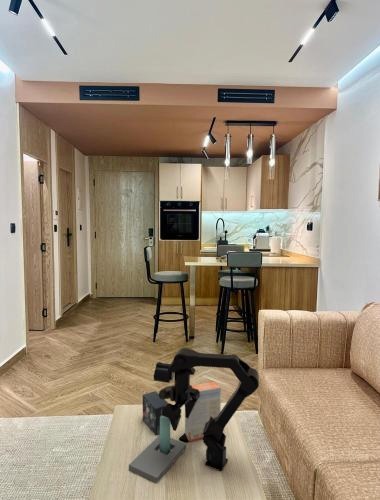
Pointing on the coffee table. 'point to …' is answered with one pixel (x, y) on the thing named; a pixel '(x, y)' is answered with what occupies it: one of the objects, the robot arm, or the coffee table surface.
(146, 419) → the small box
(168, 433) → the peg
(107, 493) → the coffee table surface
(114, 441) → the coffee table surface
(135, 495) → the coffee table surface
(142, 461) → the socket plate
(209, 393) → the cracker box
